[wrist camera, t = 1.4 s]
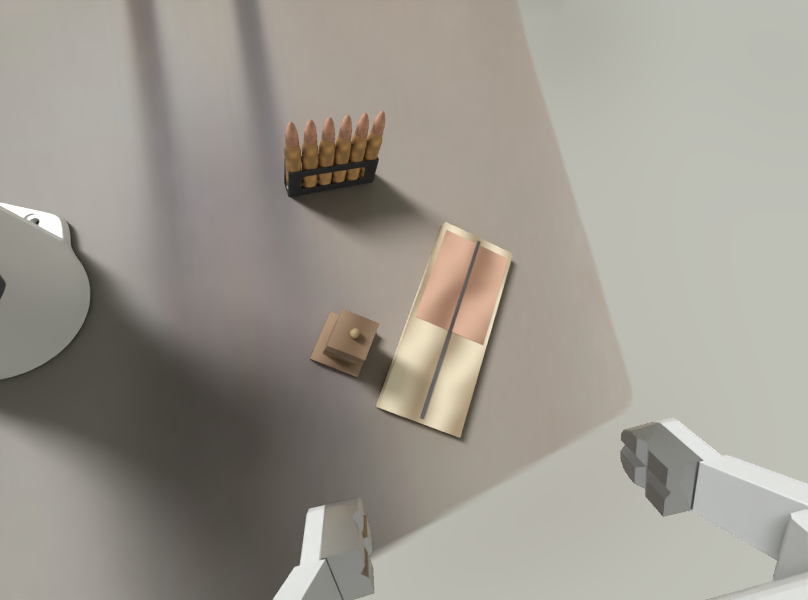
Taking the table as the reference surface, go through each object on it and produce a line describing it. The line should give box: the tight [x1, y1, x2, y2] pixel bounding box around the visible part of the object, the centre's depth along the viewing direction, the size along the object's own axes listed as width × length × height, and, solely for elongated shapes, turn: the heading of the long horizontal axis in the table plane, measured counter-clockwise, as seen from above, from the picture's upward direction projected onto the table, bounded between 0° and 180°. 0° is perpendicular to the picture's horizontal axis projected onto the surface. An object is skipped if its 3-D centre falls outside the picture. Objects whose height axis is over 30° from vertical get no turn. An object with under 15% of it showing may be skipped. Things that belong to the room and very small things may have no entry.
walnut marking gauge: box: [310, 309, 379, 377], centre depth 37 cm, size 6×6×11 cm
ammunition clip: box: [284, 111, 385, 197], centre depth 40 cm, size 11×2×12 cm, turn 108°
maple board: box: [376, 222, 513, 438], centre depth 45 cm, size 10×24×2 cm, turn 159°
